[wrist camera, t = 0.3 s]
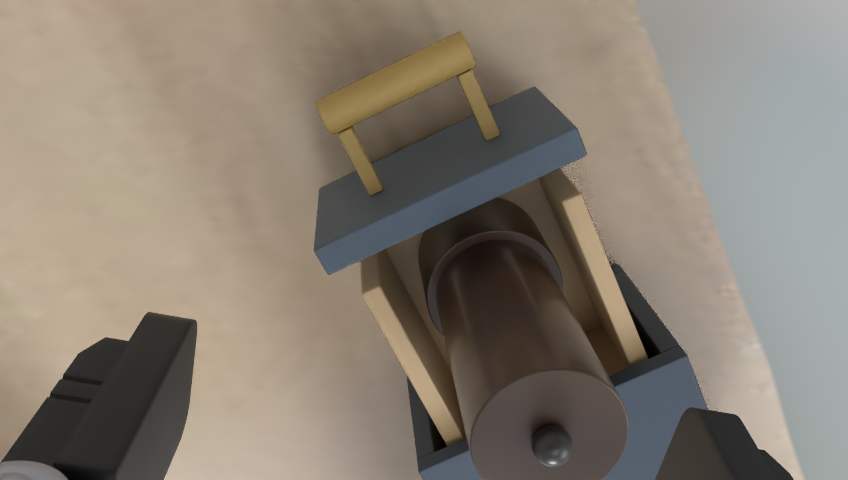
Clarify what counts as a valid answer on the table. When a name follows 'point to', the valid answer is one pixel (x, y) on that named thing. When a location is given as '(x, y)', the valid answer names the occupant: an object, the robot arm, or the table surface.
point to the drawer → (460, 212)
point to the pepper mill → (518, 351)
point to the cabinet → (637, 387)
